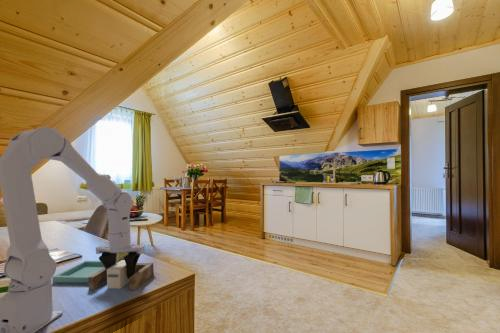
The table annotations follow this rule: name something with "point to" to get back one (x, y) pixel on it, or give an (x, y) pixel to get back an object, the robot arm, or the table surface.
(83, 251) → the table surface
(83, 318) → the table surface
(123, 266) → the cream rectangular block
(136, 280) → the bay
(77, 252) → the table surface
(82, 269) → the tray
